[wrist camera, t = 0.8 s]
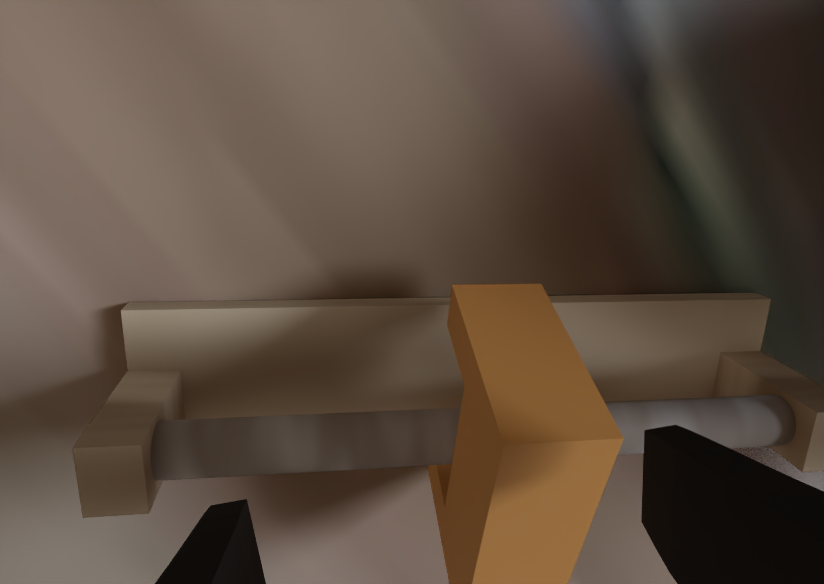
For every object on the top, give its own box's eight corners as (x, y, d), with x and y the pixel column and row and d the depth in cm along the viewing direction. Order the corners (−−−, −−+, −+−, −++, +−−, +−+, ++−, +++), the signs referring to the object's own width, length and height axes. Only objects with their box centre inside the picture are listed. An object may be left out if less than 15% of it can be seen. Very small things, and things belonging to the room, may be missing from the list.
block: (499, 464, 22) (550, 629, 17) (427, 468, 22) (459, 638, 17) (541, 283, 18) (623, 438, 13) (452, 284, 17) (504, 444, 13)
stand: (727, 436, 25) (834, 524, 19) (146, 466, 21) (92, 582, 16) (756, 292, 23) (882, 347, 18) (128, 302, 20) (61, 373, 14)
